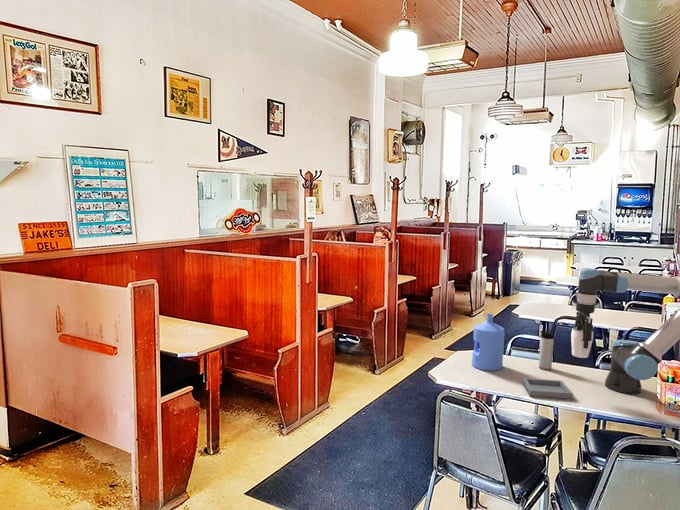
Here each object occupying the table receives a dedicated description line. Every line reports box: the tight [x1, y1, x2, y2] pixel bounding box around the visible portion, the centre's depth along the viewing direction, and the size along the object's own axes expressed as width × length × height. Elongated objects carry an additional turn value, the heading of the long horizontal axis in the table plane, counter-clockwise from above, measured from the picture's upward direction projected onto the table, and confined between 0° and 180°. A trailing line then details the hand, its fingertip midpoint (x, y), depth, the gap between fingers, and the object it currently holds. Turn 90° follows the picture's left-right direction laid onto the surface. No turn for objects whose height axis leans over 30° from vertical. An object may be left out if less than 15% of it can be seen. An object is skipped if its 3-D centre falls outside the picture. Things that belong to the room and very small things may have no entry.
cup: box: [570, 327, 594, 359], centre depth 228 cm, size 9×9×12 cm
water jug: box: [471, 313, 505, 372], centre depth 264 cm, size 16×16×28 cm
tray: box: [521, 377, 573, 400], centre depth 233 cm, size 18×16×3 cm
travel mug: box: [538, 330, 555, 371], centre depth 264 cm, size 6×7×20 cm
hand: (580, 351), depth 229 cm, fingers closed on cup, 9 cm apart
